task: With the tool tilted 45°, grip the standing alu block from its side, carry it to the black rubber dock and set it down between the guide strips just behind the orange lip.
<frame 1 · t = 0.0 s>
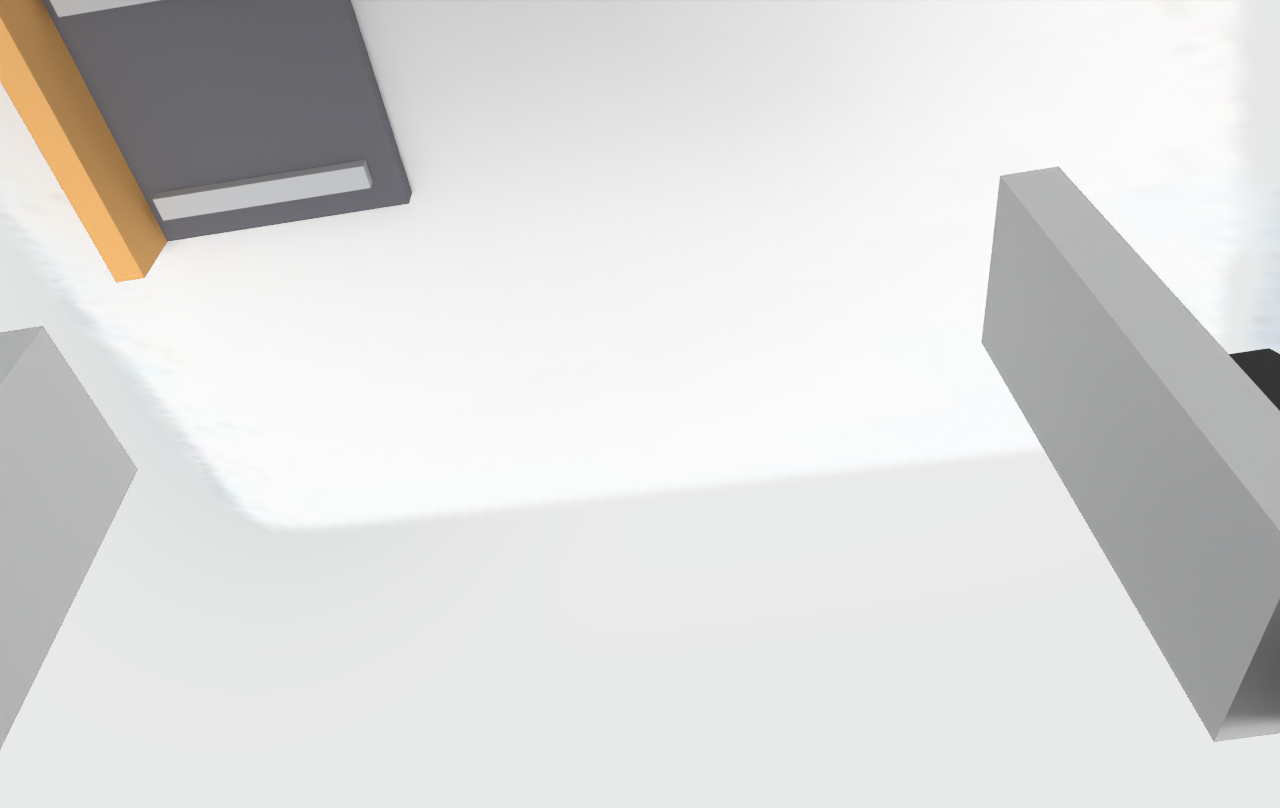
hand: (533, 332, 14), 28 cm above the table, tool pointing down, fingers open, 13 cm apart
coupler dock: (223, 81, 39), on the table
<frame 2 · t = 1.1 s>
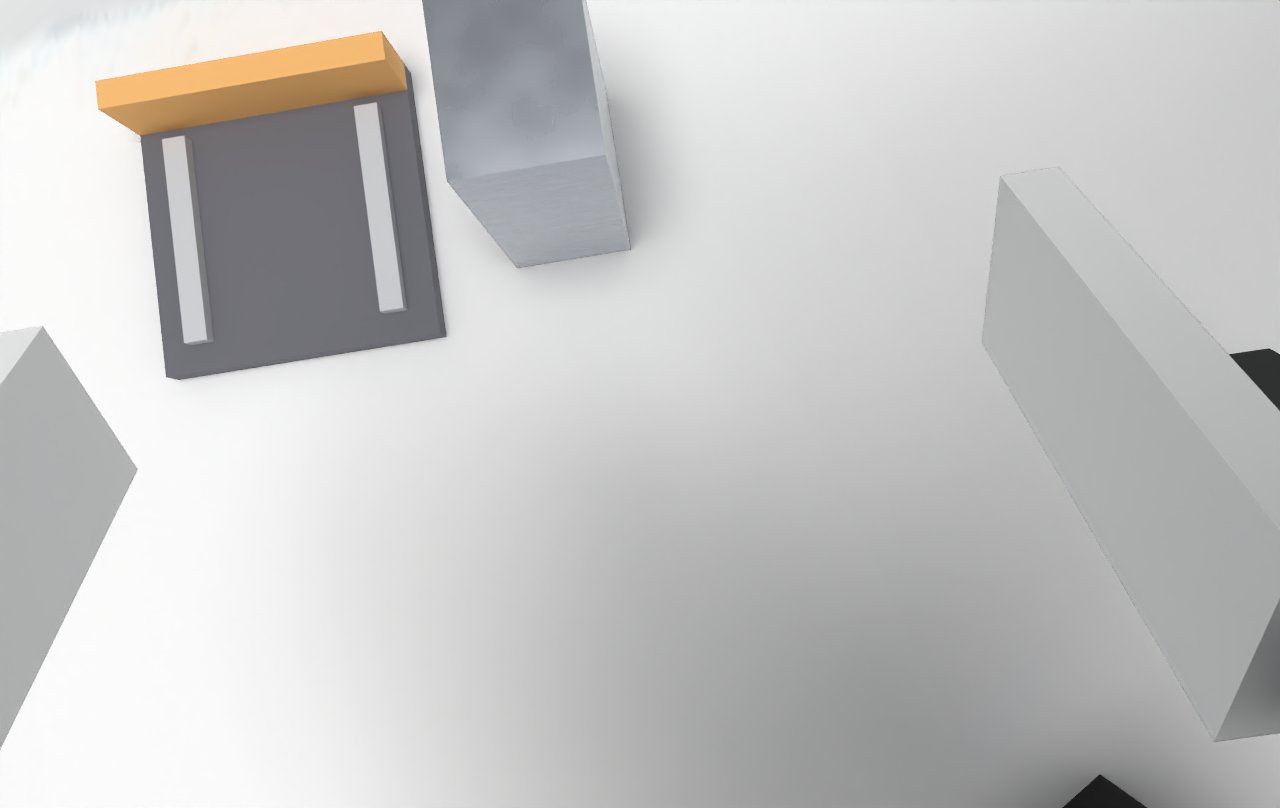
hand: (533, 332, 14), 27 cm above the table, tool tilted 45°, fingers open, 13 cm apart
coupler dock: (295, 225, 42), on the table
alu block: (562, 181, 42), on the table
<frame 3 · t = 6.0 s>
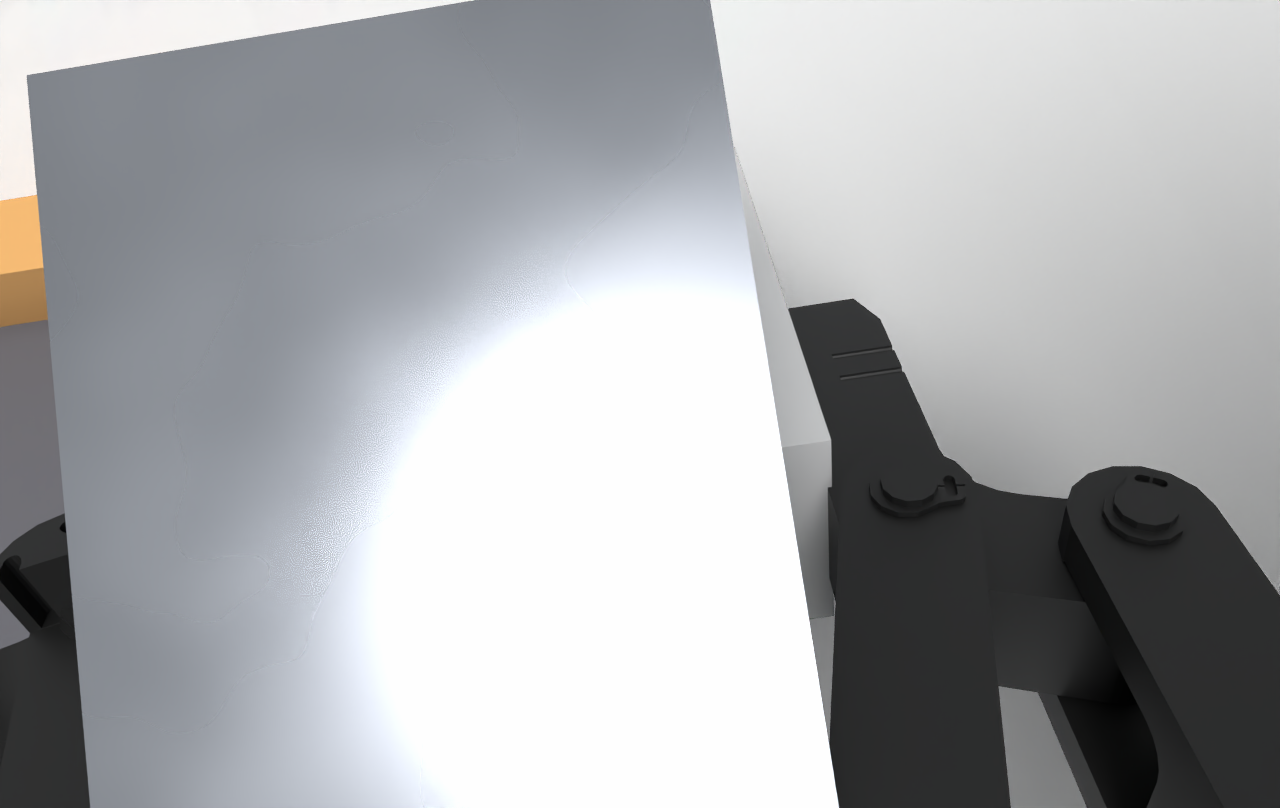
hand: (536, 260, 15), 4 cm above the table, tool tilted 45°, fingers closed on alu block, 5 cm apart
alu block: (593, 494, 19), on the table, touching gripper
when the fingers open (6 cm above the table, at t = 10.4 s): alu block stays where it is, resting on coupler dock.
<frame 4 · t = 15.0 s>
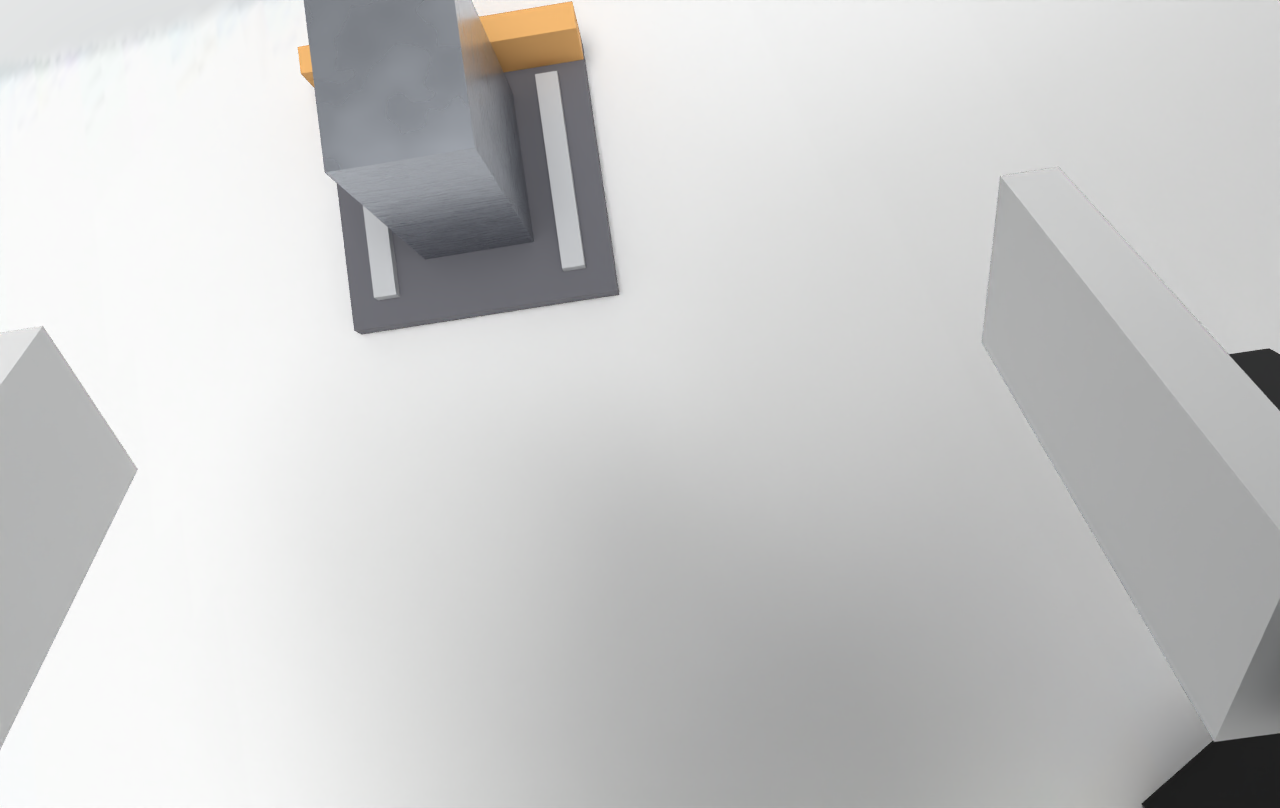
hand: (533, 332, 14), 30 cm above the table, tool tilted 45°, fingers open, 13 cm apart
coupler dock: (473, 188, 44), on the table
alu block: (469, 176, 43), point 1 cm above the table, touching coupler dock
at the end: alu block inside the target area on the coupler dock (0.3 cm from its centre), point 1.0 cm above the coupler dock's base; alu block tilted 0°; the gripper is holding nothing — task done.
